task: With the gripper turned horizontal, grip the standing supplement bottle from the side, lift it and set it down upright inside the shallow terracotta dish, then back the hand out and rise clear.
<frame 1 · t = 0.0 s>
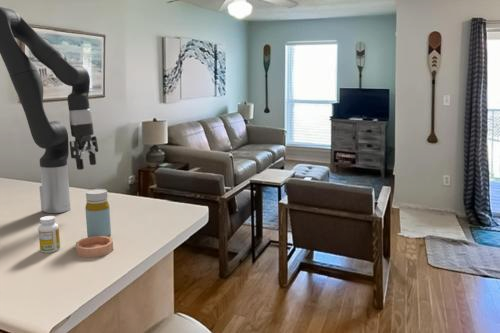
hand: (87, 167, 159), 17 cm above the counter, tool pointing down, fingers open, 8 cm apart
supplement bottle: (50, 250, 127), on the counter
terracotta dish: (95, 250, 127), on the counter
bottle: (99, 238, 137), on the counter
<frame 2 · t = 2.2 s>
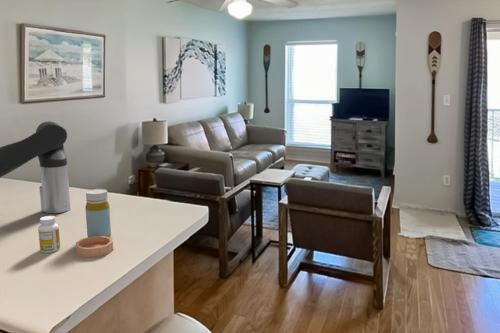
nothing on the counter moved.
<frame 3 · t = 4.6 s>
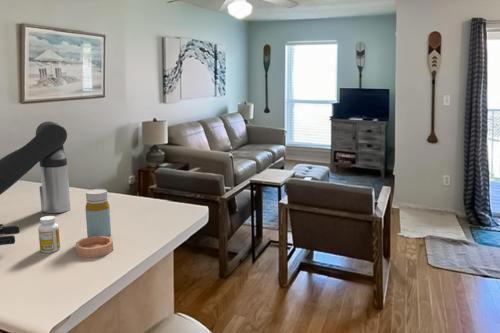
hand: (17, 234, 123), 6 cm above the counter, tool horizontal, fingers open, 8 cm apart
nothing on the counter moved.
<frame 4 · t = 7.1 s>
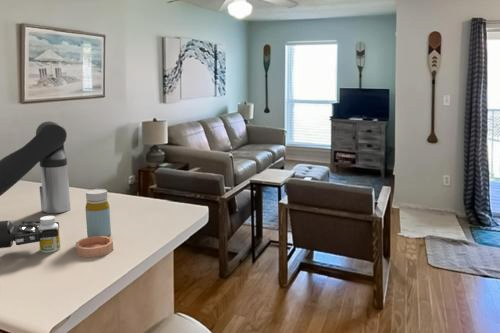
hand: (58, 228, 127), 6 cm above the counter, tool horizontal, fingers closed on supplement bottle, 5 cm apart
supplement bottle: (50, 250, 127), on the counter, touching gripper
everything else where it was.
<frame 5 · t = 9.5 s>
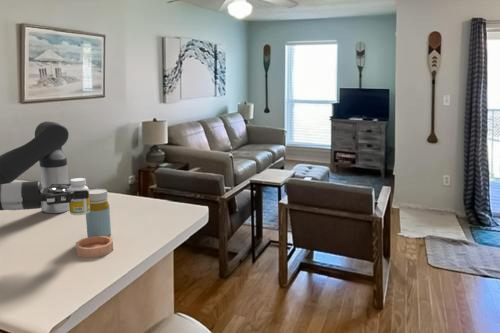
hand: (88, 191, 123), 18 cm above the counter, tool horizontal, fingers closed on supplement bottle, 5 cm apart
supplement bottle: (80, 213, 124), point 11 cm above the counter, touching gripper
everything else where it was.
when the fingers open (8 cm above the counter, at t = 12.1 s): supplement bottle drops 1 cm, resting on terracotta dish.
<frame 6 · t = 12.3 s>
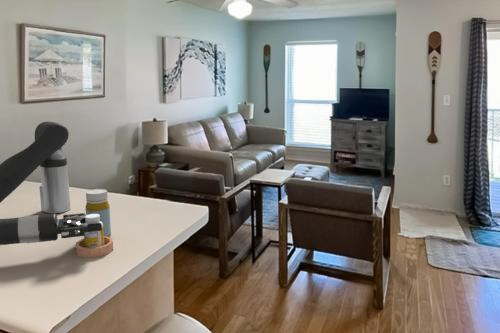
hand: (101, 222, 126), 8 cm above the counter, tool horizontal, fingers open, 7 cm apart
supplement bottle: (94, 248, 127), point 1 cm above the counter, touching terracotta dish
everything else where it was.
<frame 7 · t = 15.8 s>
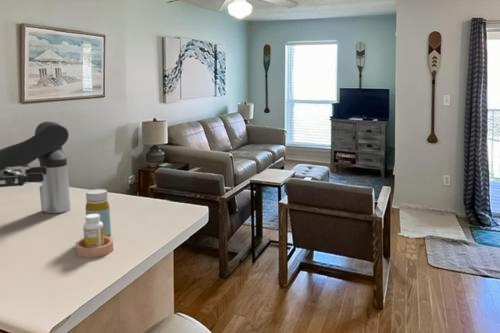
hand: (44, 173, 118), 24 cm above the counter, tool horizontal, fingers open, 8 cm apart
nothing on the counter moved.
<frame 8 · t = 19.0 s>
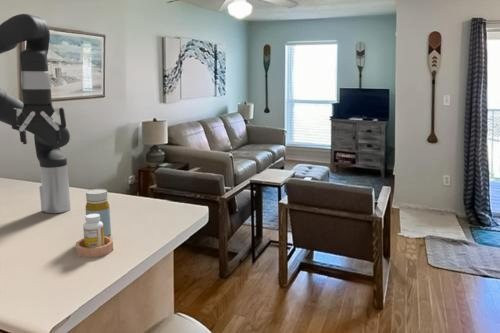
hand: (41, 143, 129), 30 cm above the counter, tool pointing down, fingers open, 8 cm apart
nothing on the counter moved.
at the end: supplement bottle 0.1 cm off-centre on the terracotta dish, point 0.6 cm above the terracotta dish's base; supplement bottle tilted 0°; the gripper is holding nothing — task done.
